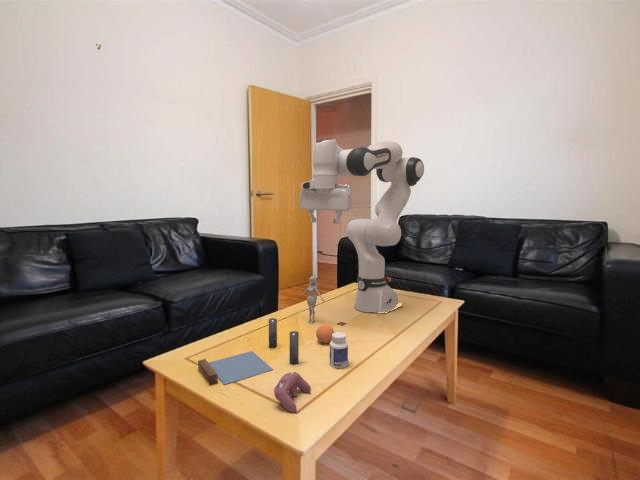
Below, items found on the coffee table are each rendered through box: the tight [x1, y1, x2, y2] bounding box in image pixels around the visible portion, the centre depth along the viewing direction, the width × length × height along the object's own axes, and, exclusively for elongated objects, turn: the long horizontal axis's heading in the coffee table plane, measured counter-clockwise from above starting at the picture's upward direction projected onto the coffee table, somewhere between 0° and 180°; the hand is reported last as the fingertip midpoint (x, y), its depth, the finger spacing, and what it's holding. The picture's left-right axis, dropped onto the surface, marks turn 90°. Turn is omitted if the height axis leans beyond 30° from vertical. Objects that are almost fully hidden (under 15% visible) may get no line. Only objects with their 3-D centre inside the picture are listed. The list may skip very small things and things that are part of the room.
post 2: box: [289, 330, 300, 366], centre depth 99 cm, size 3×3×9 cm
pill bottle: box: [329, 332, 349, 369], centre depth 99 cm, size 5×5×9 cm
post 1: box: [268, 317, 278, 349], centre depth 110 cm, size 3×3×9 cm
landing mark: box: [207, 350, 274, 386], centre depth 97 cm, size 14×14×1 cm
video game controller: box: [273, 371, 312, 413], centre depth 81 cm, size 10×5×7 cm, turn 159°
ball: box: [315, 323, 335, 344], centre depth 114 cm, size 6×6×6 cm
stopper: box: [197, 358, 219, 386], centre depth 92 cm, size 2×10×2 cm, turn 36°
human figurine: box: [300, 275, 326, 325], centre depth 132 cm, size 12×4×18 cm, turn 48°
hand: (324, 222), depth 125 cm, fingers open, 8 cm apart
